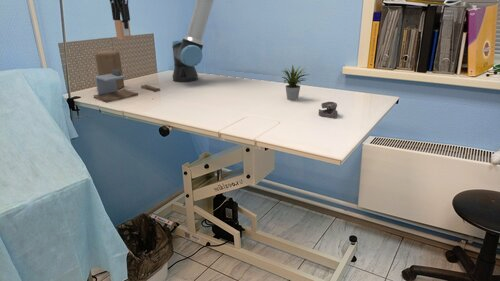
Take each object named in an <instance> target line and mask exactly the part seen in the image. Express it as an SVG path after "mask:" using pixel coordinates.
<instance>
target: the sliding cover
mask: <svg viewBox="0 0 500 281" xmlns="http://www.w3.org/2000/svg"><path fill="white" fill-rule="evenodd" d="M94 78H95V79H94V80H95V85H96V90H97V94H98V95H101V94H106V93H111V92H115V91H118V90H117V84H116V80H117V79H122V78H123V79H126V76H125V75H123V76H122V75H121V73H120V71H119V70H115V69H113V70H112V74H106V75H100V76H99V75H96V76H94Z"/></svg>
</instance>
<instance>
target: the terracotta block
mask: <svg viewBox="0 0 500 281" xmlns="http://www.w3.org/2000/svg"><path fill="white" fill-rule="evenodd" d="M113 21H114V27H115V35H116V40H129V39H130V40H132V35H131V28H130V22H129V21H128V29H129V35H128V36H124V33H123V26H122V22H121V21H123V20H122V19H120V20H113Z"/></svg>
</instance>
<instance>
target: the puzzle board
mask: <svg viewBox="0 0 500 281" xmlns="http://www.w3.org/2000/svg"><path fill="white" fill-rule="evenodd" d="M140 88H141V89H145V90H148V91H151V92H153V93H154V92H155V93H156V92H160V91H161V89H160V88H159V87H157V86H152V85H148V84H141V85H140ZM138 96H139V93H138V92H135V91H133V90H128V89H126V88H121V89H119V90H118V91H115V92H111V93H106V94H101V95H98V93H97V94H94V95H93V98H94V99H97V100H99V101H102V102H105V103H111V102H114V101H120V100H124V99H128V98H129V99H130V98H132V97H133V98H134V97H138Z"/></svg>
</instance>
